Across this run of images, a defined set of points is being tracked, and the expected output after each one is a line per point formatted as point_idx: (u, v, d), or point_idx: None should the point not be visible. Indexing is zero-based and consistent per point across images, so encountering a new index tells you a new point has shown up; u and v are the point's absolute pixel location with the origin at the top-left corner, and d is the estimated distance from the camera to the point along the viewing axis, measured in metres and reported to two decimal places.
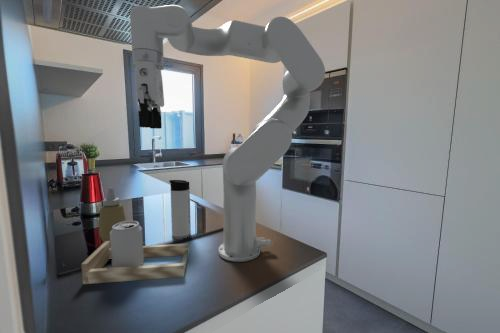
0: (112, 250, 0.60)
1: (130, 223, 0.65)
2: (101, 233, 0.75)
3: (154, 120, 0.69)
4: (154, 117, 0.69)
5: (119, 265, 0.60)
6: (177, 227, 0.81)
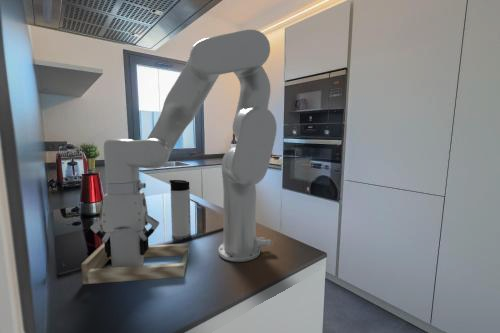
0: (112, 250, 0.60)
1: None
2: None
3: None
4: None
5: (119, 265, 0.60)
6: (177, 227, 0.81)
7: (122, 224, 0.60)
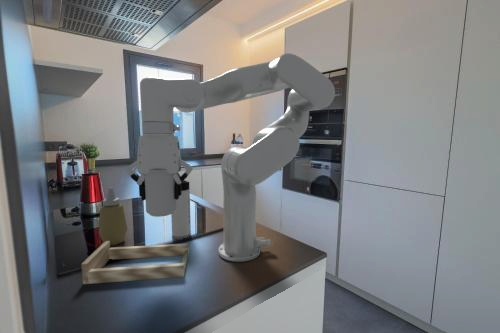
0: (147, 192, 0.60)
1: None
2: (101, 233, 0.75)
3: None
4: None
5: (154, 207, 0.60)
6: (177, 227, 0.81)
7: (158, 166, 0.60)
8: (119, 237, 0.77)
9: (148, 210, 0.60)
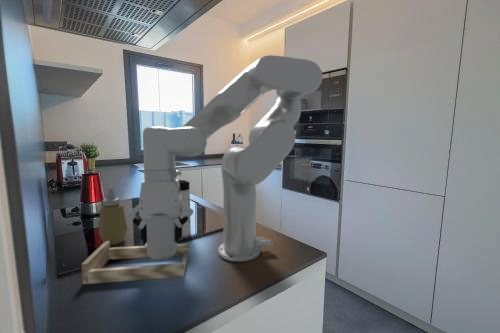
0: (149, 237, 0.61)
1: None
2: (101, 233, 0.75)
3: None
4: None
5: (155, 251, 0.61)
6: None
7: (159, 211, 0.61)
8: (119, 237, 0.77)
9: (149, 254, 0.62)
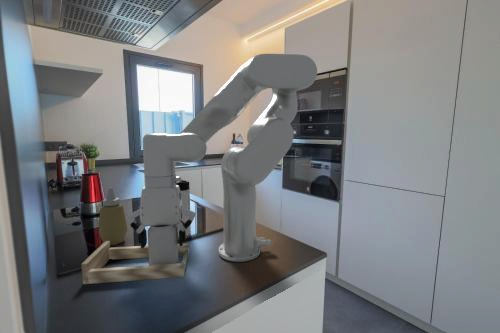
0: (151, 248, 0.62)
1: None
2: (101, 233, 0.75)
3: (145, 237, 0.64)
4: (144, 234, 0.64)
5: (157, 262, 0.61)
6: None
7: (160, 217, 0.61)
8: (119, 237, 0.77)
9: None
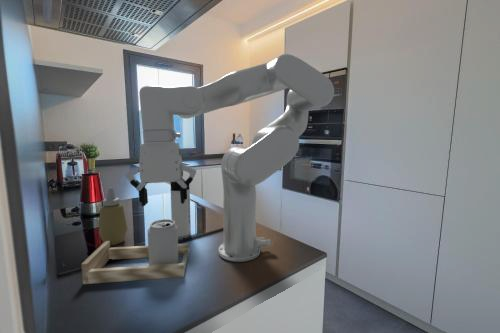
0: (151, 248, 0.62)
1: (165, 222, 0.66)
2: (101, 233, 0.75)
3: (145, 196, 0.62)
4: (145, 193, 0.62)
5: (157, 262, 0.61)
6: None
7: (160, 173, 0.60)
8: (119, 237, 0.77)
9: None
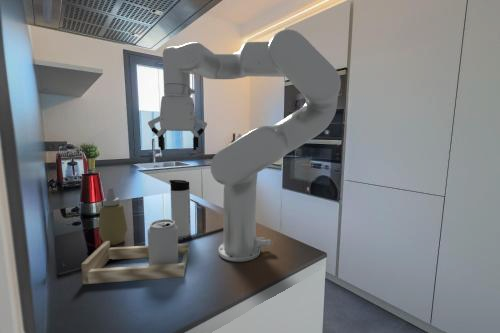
0: (151, 248, 0.62)
1: (165, 222, 0.66)
2: (101, 233, 0.75)
3: (163, 142, 0.74)
4: (163, 139, 0.74)
5: (157, 262, 0.61)
6: None
7: (177, 122, 0.71)
8: (119, 237, 0.77)
9: None
